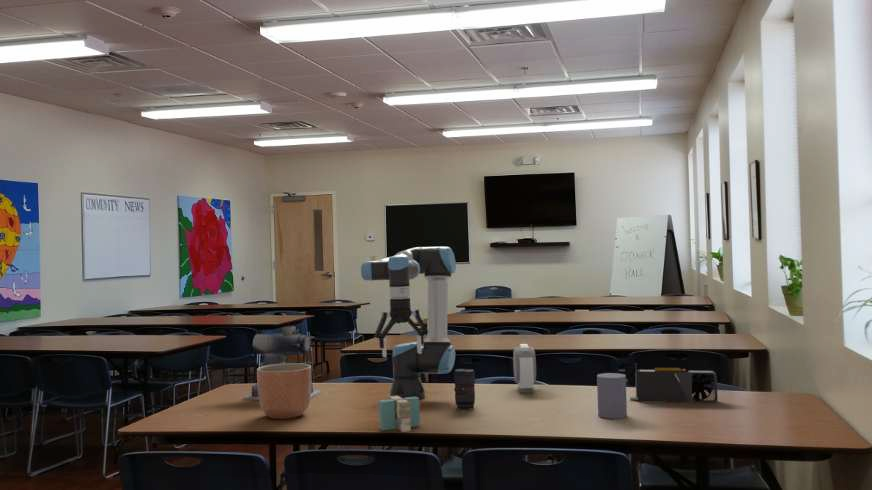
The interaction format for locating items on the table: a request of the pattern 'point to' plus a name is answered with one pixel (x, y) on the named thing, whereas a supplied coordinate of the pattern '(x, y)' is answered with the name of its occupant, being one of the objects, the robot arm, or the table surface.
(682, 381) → the graphics card
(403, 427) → the upper plate
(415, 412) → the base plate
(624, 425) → the table surface
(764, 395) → the table surface
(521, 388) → the alarm clock
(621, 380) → the container
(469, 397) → the camera lens
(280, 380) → the planter
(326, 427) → the table surface
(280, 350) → the grinder
